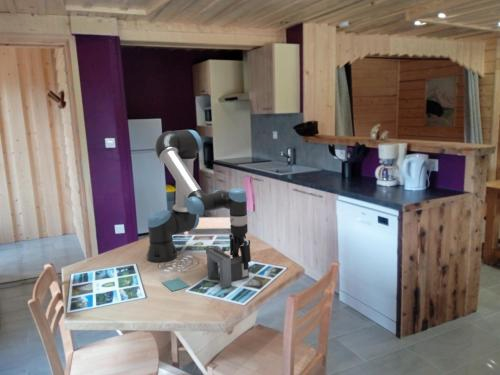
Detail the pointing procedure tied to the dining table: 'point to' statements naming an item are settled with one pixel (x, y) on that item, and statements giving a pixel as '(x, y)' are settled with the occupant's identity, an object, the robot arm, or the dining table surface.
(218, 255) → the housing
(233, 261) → the plug
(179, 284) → the mat
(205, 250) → the mechanical component
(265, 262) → the dining table surface
